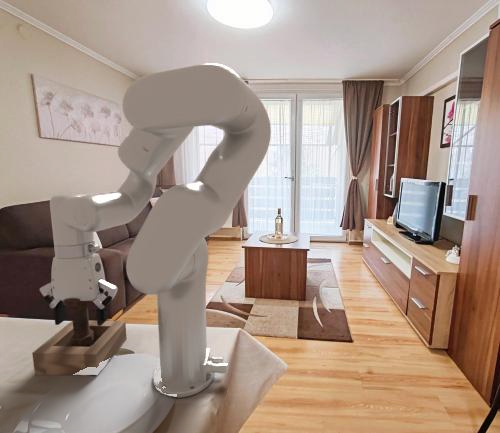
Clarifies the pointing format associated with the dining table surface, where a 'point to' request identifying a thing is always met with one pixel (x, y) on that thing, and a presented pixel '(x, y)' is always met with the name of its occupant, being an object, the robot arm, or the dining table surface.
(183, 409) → the dining table surface
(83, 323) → the bolt
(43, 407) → the dining table surface
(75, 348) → the socket block
